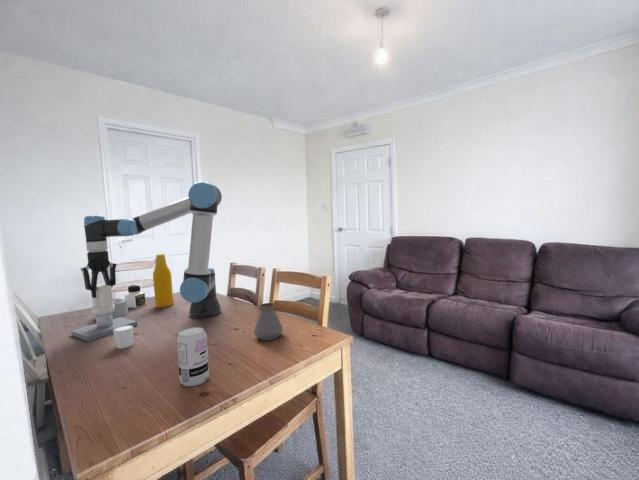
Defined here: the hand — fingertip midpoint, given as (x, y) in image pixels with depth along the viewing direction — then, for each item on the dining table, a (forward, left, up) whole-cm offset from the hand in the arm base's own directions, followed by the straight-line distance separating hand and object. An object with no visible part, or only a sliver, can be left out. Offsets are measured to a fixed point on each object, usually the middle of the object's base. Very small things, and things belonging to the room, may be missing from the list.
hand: (102, 303), depth 140 cm
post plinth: (0, 0, -12) cm, 12 cm away
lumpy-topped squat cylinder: (+20, -13, -13) cm, 27 cm away
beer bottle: (+12, -36, -13) cm, 40 cm away
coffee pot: (-68, -28, -13) cm, 74 cm away
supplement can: (-74, +9, -13) cm, 76 cm away
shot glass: (-26, +5, -13) cm, 30 cm away
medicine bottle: (+28, -28, -13) cm, 41 cm away
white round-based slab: (+1, 0, -4) cm, 4 cm away
